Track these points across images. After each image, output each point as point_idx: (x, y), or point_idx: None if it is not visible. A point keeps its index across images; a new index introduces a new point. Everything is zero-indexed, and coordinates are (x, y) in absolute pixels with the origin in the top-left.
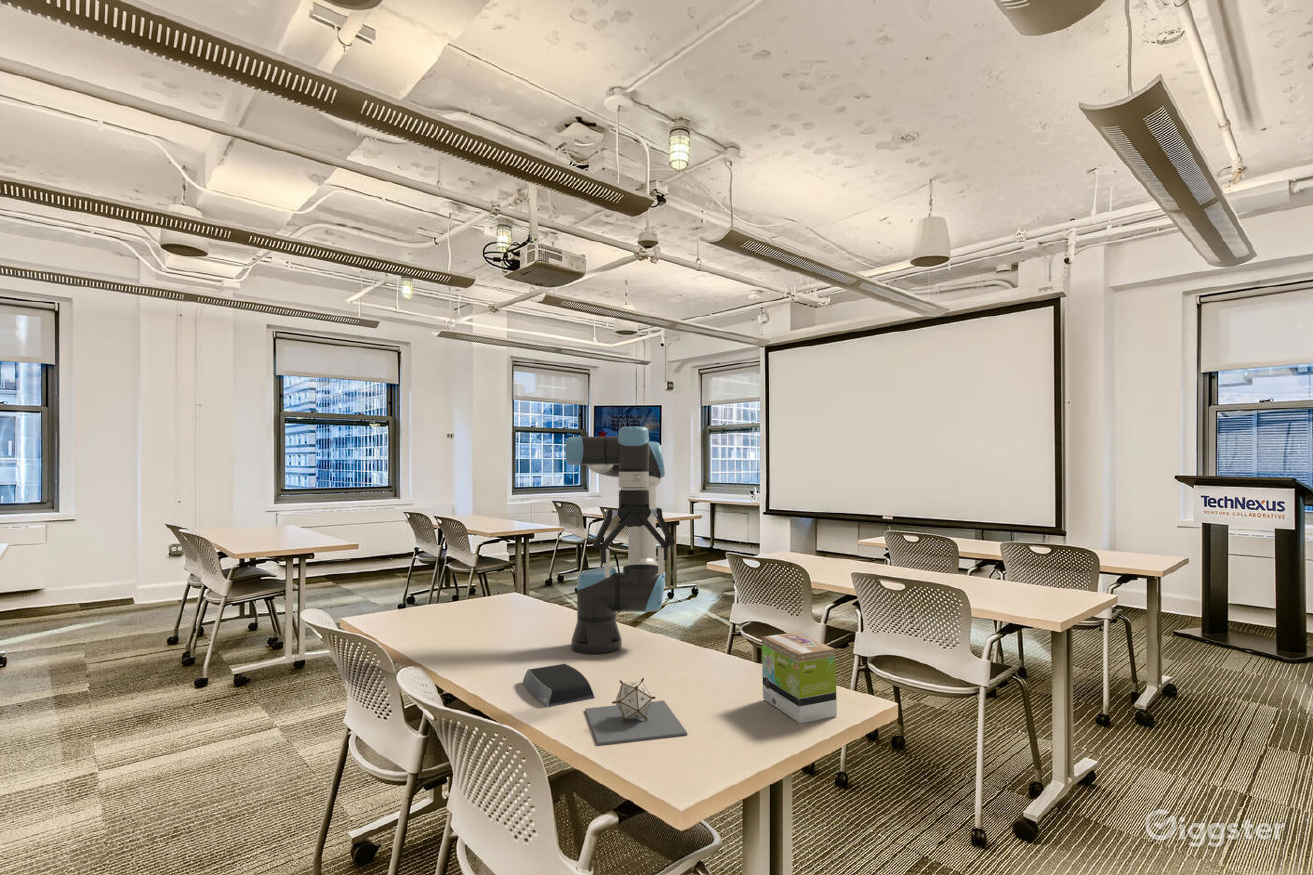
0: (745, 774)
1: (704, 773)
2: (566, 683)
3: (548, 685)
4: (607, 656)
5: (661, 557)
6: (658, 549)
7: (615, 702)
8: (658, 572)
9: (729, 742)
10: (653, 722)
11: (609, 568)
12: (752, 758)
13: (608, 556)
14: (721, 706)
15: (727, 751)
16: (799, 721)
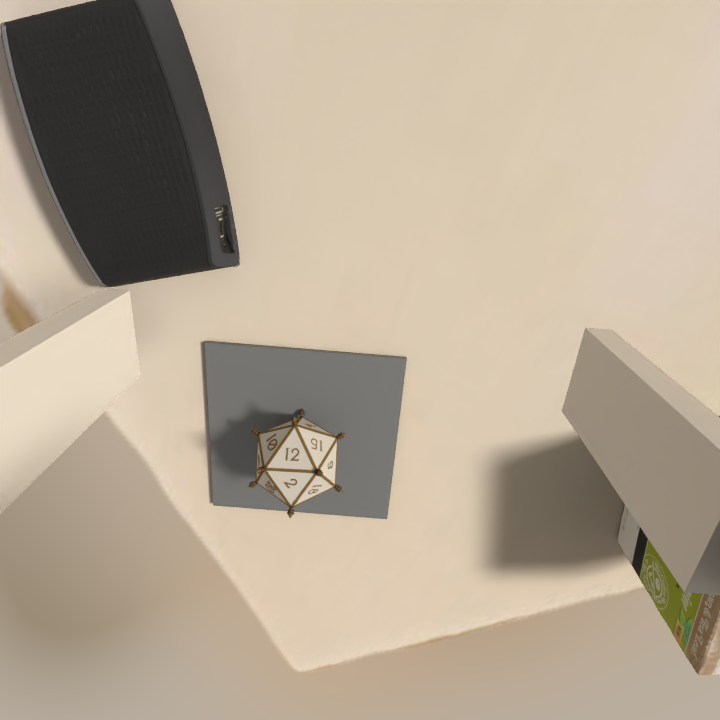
0: (414, 638)
1: (359, 620)
2: (144, 246)
3: (89, 247)
4: None
5: (634, 507)
6: (709, 470)
7: (257, 439)
8: (585, 337)
9: (446, 558)
10: (339, 461)
11: (102, 412)
12: (451, 608)
13: (19, 484)
14: (525, 420)
15: (425, 581)
16: (618, 542)
